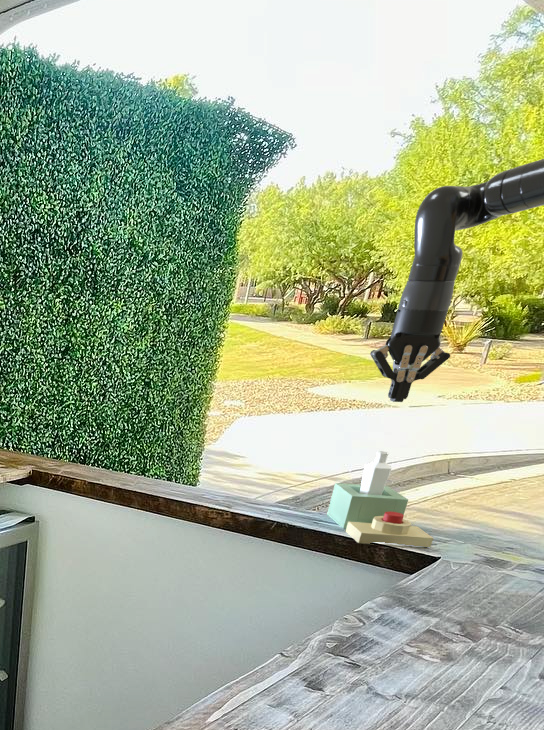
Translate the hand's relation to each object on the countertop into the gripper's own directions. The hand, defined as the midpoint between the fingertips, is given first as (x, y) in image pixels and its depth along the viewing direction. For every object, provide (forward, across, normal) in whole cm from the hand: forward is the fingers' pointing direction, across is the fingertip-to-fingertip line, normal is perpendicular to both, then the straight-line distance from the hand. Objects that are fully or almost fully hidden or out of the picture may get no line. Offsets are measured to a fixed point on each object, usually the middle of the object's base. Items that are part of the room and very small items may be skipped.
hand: (396, 401), depth 148 cm
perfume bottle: (+25, 0, 0) cm, 25 cm away
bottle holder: (+25, 0, 0) cm, 25 cm away
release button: (+21, -1, +10) cm, 24 cm away
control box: (+25, -1, +10) cm, 27 cm away
